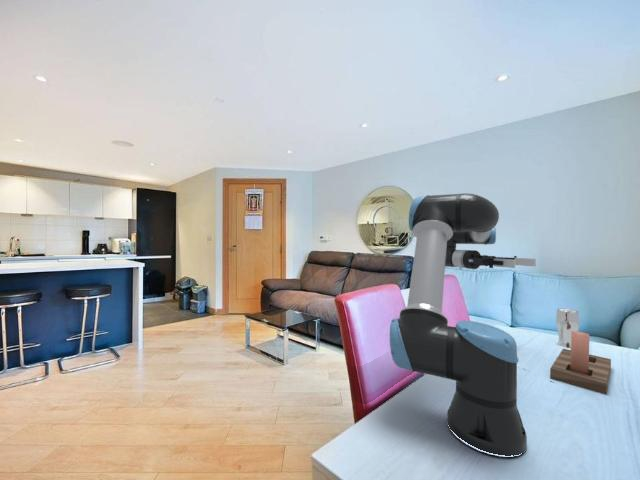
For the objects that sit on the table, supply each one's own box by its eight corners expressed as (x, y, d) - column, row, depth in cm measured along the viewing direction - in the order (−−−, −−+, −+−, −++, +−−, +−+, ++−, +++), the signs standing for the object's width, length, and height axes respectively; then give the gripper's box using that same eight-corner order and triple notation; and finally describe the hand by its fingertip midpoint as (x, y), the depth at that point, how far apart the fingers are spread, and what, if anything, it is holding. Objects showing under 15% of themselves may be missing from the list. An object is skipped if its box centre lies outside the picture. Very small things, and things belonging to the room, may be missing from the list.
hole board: (606, 398, 77) (606, 383, 77) (550, 381, 86) (550, 368, 86) (610, 371, 93) (610, 359, 93) (563, 359, 102) (563, 348, 102)
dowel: (580, 383, 83) (582, 336, 82) (566, 376, 87) (567, 331, 86) (591, 382, 83) (593, 335, 83) (577, 375, 87) (578, 330, 87)
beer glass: (555, 343, 118) (555, 307, 118) (577, 347, 114) (577, 310, 114) (556, 348, 112) (557, 310, 112) (580, 352, 108) (580, 313, 108)
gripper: (485, 267, 122) (542, 272, 103) (447, 269, 110) (505, 276, 91) (485, 249, 122) (542, 251, 103) (447, 250, 110) (505, 252, 91)
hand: (525, 263), depth 97 cm, fingers open, 13 cm apart
